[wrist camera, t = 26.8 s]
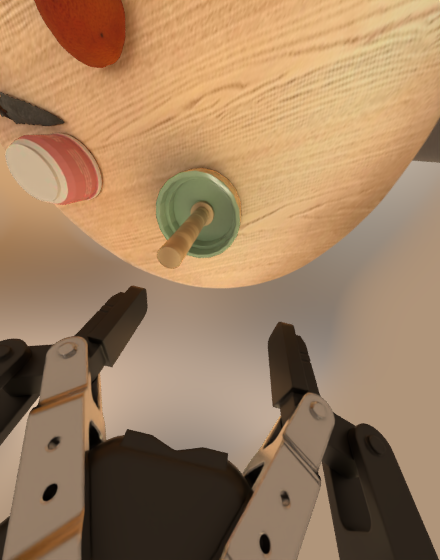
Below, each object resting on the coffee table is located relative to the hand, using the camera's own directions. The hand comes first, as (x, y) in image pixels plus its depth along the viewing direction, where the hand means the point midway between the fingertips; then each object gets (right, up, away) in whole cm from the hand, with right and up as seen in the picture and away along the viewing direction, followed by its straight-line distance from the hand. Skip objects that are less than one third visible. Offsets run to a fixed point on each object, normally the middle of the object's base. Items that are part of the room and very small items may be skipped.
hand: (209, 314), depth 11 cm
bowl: (-2, +15, +24) cm, 29 cm away
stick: (-3, +15, +24) cm, 28 cm away
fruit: (-14, +35, +13) cm, 40 cm away
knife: (-34, +27, +20) cm, 48 cm away
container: (-28, +18, +16) cm, 37 cm away
